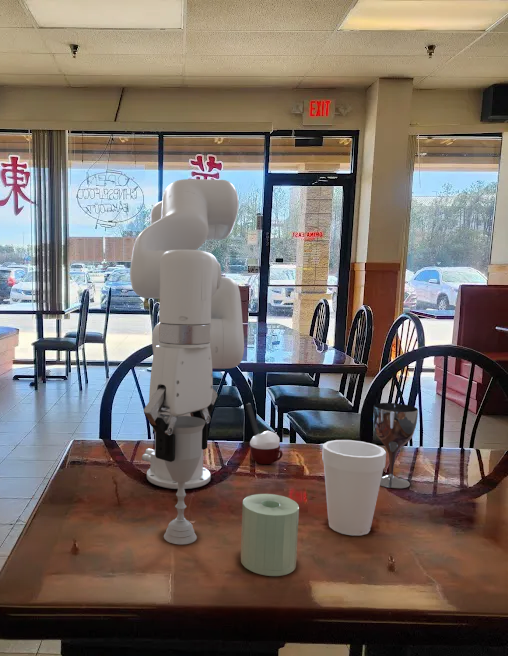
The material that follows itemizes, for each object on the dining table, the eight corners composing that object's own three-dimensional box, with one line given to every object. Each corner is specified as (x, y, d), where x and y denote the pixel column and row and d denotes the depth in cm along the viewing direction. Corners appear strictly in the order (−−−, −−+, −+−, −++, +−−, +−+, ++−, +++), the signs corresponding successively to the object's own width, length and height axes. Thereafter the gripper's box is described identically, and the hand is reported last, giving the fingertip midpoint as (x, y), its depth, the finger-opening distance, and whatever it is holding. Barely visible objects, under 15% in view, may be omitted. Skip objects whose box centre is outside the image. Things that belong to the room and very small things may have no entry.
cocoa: (287, 467, 120) (289, 411, 119) (259, 469, 119) (262, 413, 117) (266, 453, 129) (268, 401, 128) (241, 455, 128) (243, 403, 126)
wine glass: (404, 475, 116) (409, 403, 114) (418, 490, 108) (424, 412, 106) (364, 473, 117) (369, 402, 115) (375, 487, 109) (380, 411, 107)
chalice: (188, 552, 82) (190, 430, 80) (148, 540, 86) (150, 423, 84) (211, 533, 88) (214, 420, 86) (173, 523, 92) (175, 413, 90)
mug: (297, 579, 75) (300, 517, 74) (239, 572, 77) (241, 512, 76) (293, 543, 86) (295, 488, 85) (242, 538, 87) (244, 484, 86)
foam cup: (349, 544, 85) (354, 460, 84) (306, 521, 93) (310, 444, 92) (393, 532, 90) (399, 452, 88) (348, 511, 98) (353, 437, 96)
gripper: (198, 330, 92) (196, 437, 94) (124, 337, 79) (123, 461, 81) (238, 333, 87) (234, 446, 90) (166, 342, 74) (164, 473, 76)
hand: (182, 452), depth 85 cm, fingers closed on chalice, 7 cm apart
